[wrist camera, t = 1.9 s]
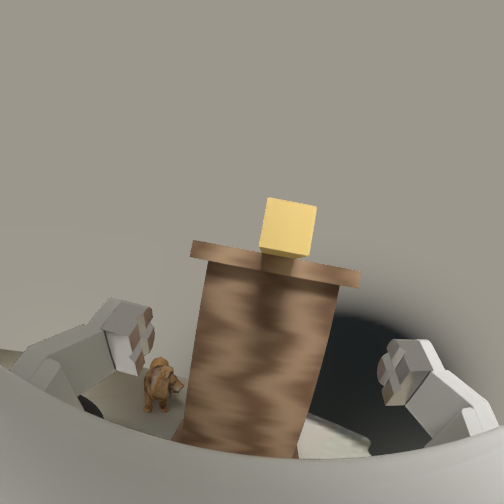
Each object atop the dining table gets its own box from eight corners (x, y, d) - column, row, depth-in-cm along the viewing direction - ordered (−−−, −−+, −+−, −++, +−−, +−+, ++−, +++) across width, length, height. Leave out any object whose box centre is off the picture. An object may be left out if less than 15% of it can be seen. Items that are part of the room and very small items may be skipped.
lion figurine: (181, 426, 34) (187, 374, 34) (144, 424, 32) (147, 370, 32) (166, 381, 47) (171, 338, 47) (138, 378, 45) (142, 334, 45)
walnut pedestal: (164, 459, 25) (193, 240, 26) (191, 409, 39) (218, 248, 40) (297, 484, 24) (361, 271, 25) (290, 428, 38) (330, 269, 39)
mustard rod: (258, 246, 17) (268, 197, 17) (264, 257, 41) (268, 236, 41) (308, 256, 17) (316, 206, 17) (284, 261, 40) (288, 240, 41)
